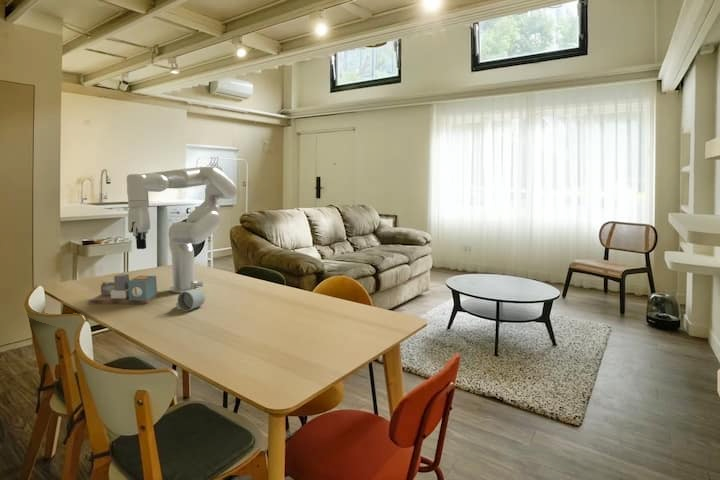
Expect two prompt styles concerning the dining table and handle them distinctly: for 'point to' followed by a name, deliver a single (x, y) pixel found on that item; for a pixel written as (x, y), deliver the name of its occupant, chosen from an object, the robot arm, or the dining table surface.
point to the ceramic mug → (190, 299)
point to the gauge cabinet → (142, 288)
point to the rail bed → (106, 298)
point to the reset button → (141, 278)
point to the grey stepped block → (120, 286)
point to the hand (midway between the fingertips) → (141, 248)
